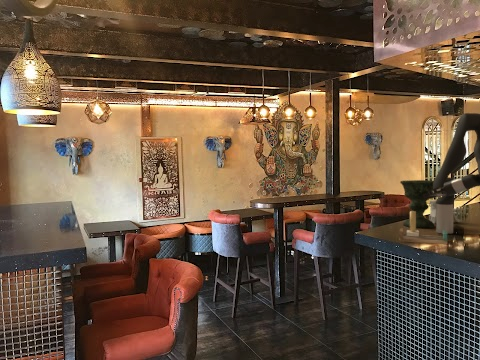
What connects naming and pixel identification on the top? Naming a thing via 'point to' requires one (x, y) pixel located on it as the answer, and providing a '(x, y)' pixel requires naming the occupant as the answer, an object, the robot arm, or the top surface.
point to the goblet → (418, 200)
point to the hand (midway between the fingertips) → (425, 196)
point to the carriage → (412, 225)
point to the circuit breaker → (433, 211)
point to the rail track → (424, 238)
